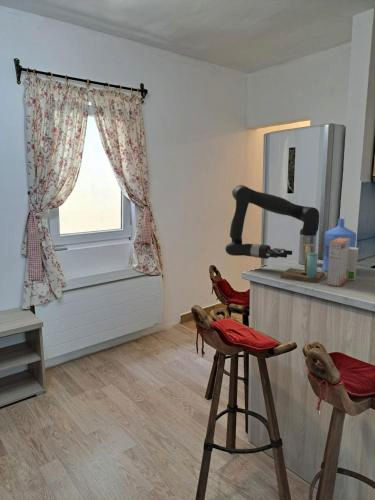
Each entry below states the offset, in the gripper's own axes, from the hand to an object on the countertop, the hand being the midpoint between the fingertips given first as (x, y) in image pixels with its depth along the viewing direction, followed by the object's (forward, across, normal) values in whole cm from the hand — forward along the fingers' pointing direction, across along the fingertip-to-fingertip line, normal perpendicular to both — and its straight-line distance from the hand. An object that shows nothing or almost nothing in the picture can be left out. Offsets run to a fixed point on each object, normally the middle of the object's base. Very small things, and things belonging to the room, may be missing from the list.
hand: (289, 254), depth 190 cm
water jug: (+21, +18, +10) cm, 30 cm away
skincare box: (+28, +4, +10) cm, 30 cm away
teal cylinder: (+14, -10, +8) cm, 20 cm away
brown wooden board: (+9, -6, +10) cm, 14 cm away
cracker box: (+26, -7, +10) cm, 29 cm away
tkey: (+10, -3, +7) cm, 13 cm away
